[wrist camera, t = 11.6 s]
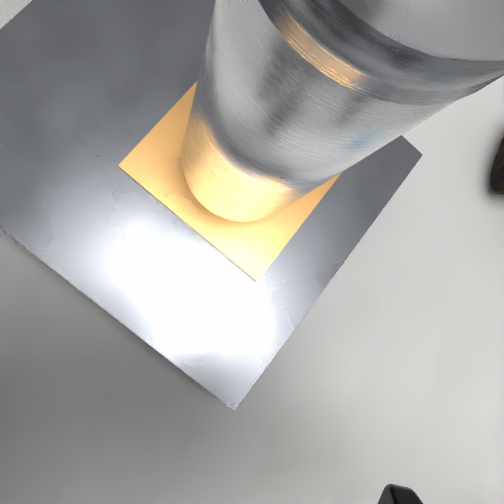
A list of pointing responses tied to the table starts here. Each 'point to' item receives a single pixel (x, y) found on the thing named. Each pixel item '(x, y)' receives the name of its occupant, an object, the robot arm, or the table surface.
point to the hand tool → (498, 171)
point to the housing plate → (160, 189)
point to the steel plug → (324, 90)
